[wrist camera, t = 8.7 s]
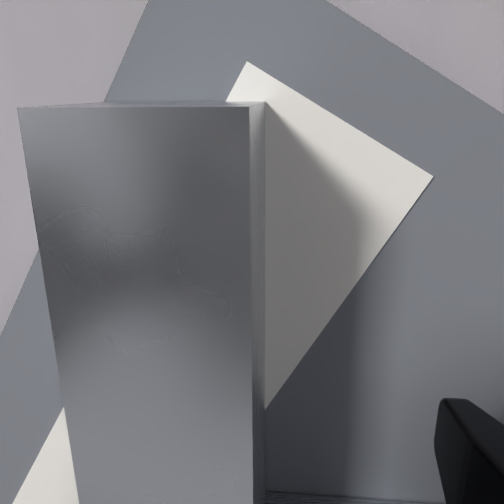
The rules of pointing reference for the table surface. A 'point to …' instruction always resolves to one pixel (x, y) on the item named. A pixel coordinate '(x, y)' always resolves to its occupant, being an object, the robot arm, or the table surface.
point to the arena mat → (319, 250)
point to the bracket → (158, 296)
